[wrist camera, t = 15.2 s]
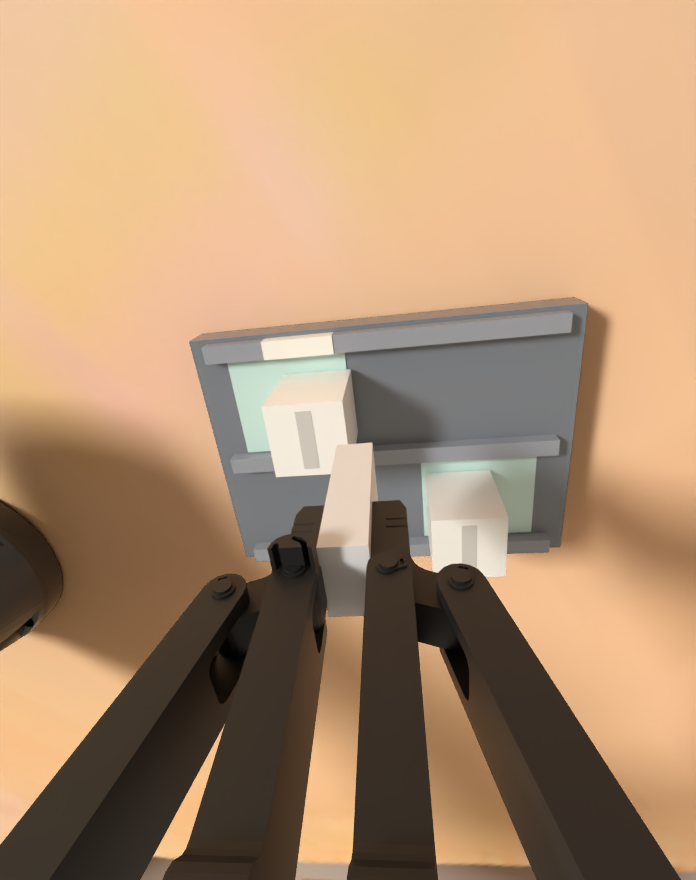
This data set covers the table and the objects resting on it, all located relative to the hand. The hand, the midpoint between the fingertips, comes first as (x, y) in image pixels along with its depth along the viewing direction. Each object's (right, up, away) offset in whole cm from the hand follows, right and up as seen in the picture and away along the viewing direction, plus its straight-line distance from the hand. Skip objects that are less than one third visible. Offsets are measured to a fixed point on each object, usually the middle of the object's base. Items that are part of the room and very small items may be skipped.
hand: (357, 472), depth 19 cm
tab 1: (-2, +4, +8) cm, 9 cm away
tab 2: (+7, -2, +10) cm, 12 cm away
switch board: (+2, +2, +11) cm, 11 cm away
